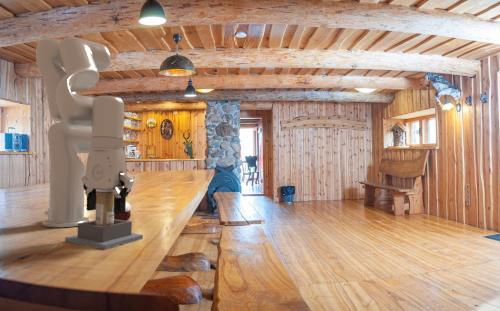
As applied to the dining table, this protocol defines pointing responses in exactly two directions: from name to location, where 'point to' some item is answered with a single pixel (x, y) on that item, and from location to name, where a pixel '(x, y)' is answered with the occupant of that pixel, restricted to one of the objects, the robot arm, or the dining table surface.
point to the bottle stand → (104, 234)
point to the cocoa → (125, 215)
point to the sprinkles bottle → (104, 207)
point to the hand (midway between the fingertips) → (105, 211)
